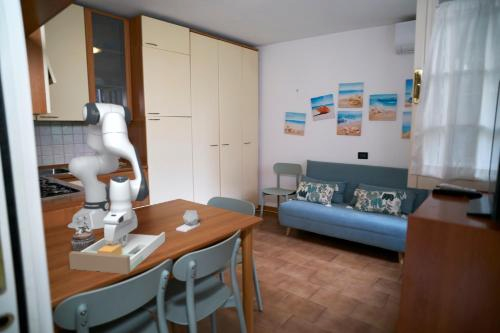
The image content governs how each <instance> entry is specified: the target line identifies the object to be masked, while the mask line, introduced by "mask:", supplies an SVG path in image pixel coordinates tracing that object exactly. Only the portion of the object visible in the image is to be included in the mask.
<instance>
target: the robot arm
mask: <svg viewBox="0 0 500 333" xmlns="http://www.w3.org/2000/svg"><path fill="white" fill-rule="evenodd" d="M81 114H82V115H81V116H82V120H83V121H84V122H85V123H86V124H88V127H87V135H86V141H85V142H86V146H87V147H88V148H89V149H90V150H92V151H93V152H94V154H89V155H88V154H87V155H79V156H76V157H73V158H71V159H70V160H69V163H68V166H67V168H68V171H69V173H70V174H71V175H72V176H74V177H75V178H77V179H78V180H79V182H80V183H81V184H82V186H83V191H84V197H85V200H84V201H82V202H81V204H80V205H81V206H82V205H83V206H82V208H80V209H79V210H78V211H77V212H76V213H74V214H73V216H72V221H71V222H70V223H69V224H68V225H67V228H70V229H75V230H76V228H78V227H83V226H89V227H90V229H91V230H92V231H93V230H98V229H99V230H100V229H103V232H104V233H103V235H104V237H103V238H105V241H106V242H110V243H113V242H115V241H117V240H118V241H119V244H122V246H123V245H125V244H126V243H127V237H128V234H130V232H132V231H135V229H137V227H138V217H137V213H136V211H135V209H133V204H132V202H143V201H145V200H146V199H147V198H148V197H149V196H150V187H149V185H148V184H149V183H148V182H147V178H146V176H145V173H144V168H143V165H142V162H141V158H140V153H139V151H138V149H137V147H136V146H134V145H133V144H132V143H131V141H130V139H129V133H128V127H127V126H129V125H130V123H131V121H132V111H131V109H130V108H129V107H128V106H124V105H122V104H121V105H119V104H116V103H109V102H108V103H103V102H102V103H101V102H93V101H92V102H87V103H85V104H84V105H83V108H82V113H81ZM118 157H120V158H123V159H125V160H128V161H129V163H130V164H131V167H132V170H133V174H134V177H135V179H132V180H131V179H130V177H128V176H126V175H115V176H112V177H111V178H110V179H109V180H110V181H109V182H108V183H107V184H106V183H105V182H102V181H101V180H98V178H97V176H100V175H101V176H102V175H107V174H113V173H114V172H116V171H117V170H118V169H119V167H120V166H119V165H120V161H119V159H118Z"/></svg>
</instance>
